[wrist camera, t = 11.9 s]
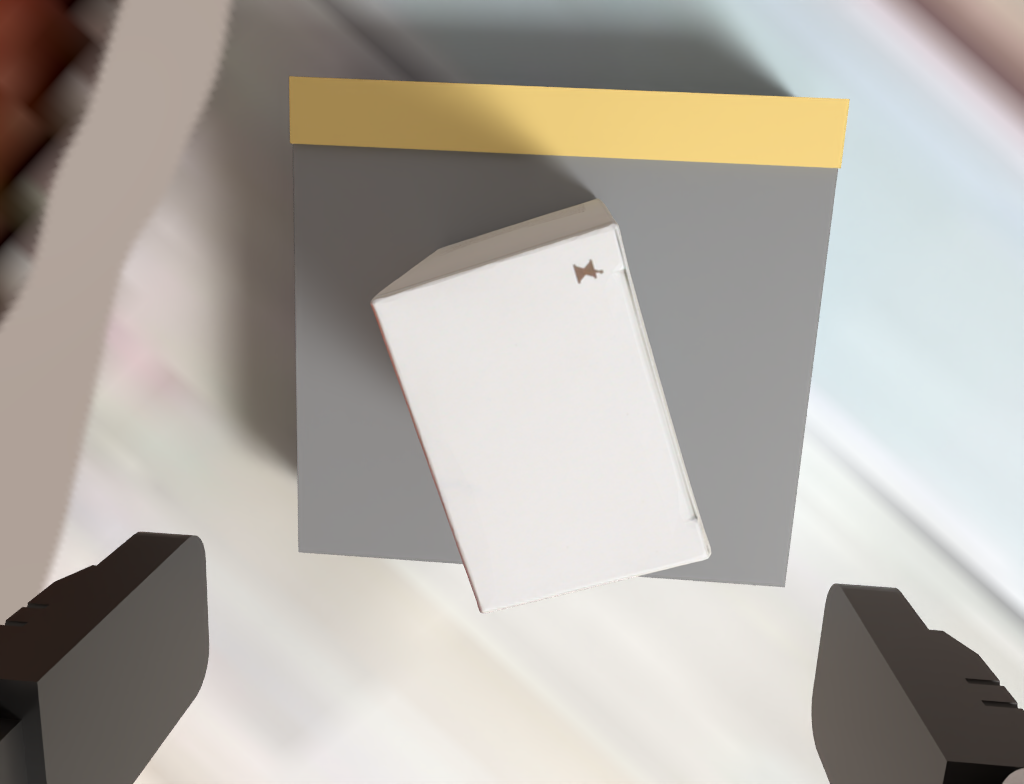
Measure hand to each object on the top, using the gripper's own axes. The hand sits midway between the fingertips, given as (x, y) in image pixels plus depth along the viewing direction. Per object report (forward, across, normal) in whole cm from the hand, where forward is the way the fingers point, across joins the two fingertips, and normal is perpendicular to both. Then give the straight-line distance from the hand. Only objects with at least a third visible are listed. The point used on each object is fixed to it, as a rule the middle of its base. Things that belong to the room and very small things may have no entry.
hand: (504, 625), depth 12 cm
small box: (+19, 0, 0) cm, 19 cm away
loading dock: (+24, 0, 0) cm, 24 cm away
